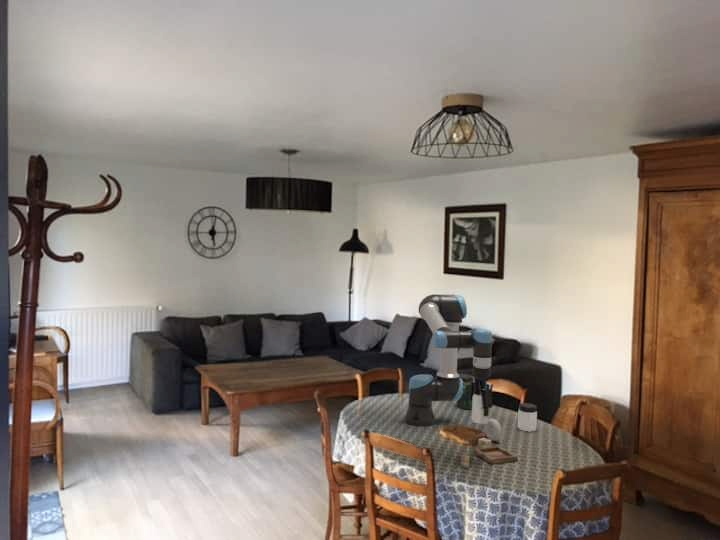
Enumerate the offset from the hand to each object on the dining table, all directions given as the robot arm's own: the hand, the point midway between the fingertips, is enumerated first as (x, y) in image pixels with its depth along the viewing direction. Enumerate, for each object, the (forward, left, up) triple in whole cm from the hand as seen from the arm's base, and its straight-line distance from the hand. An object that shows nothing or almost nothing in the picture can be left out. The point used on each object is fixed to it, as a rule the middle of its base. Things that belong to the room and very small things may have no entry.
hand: (479, 420), depth 238 cm
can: (0, 0, -1) cm, 1 cm away
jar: (-25, +46, -16) cm, 54 cm away
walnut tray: (+3, +7, -15) cm, 17 cm away
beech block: (-8, +9, -15) cm, 19 cm away
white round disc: (-16, +19, -16) cm, 29 cm away
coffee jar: (-67, +38, -16) cm, 78 cm away
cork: (+7, -11, -15) cm, 21 cm away
